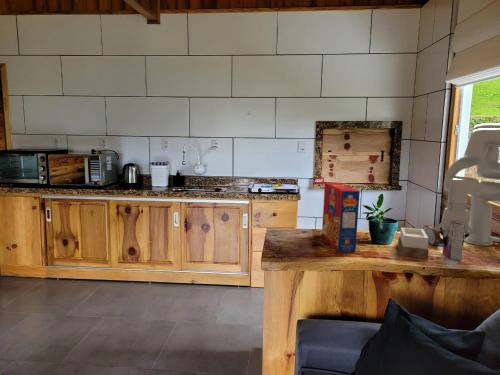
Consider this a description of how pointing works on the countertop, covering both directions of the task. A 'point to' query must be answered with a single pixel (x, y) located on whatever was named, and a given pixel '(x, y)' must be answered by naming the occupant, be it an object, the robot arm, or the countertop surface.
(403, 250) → the tower base
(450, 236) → the candy bar box
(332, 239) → the cereal box
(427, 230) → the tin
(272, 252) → the countertop surface
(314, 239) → the countertop surface
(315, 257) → the countertop surface
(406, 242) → the tower top
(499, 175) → the robot arm
